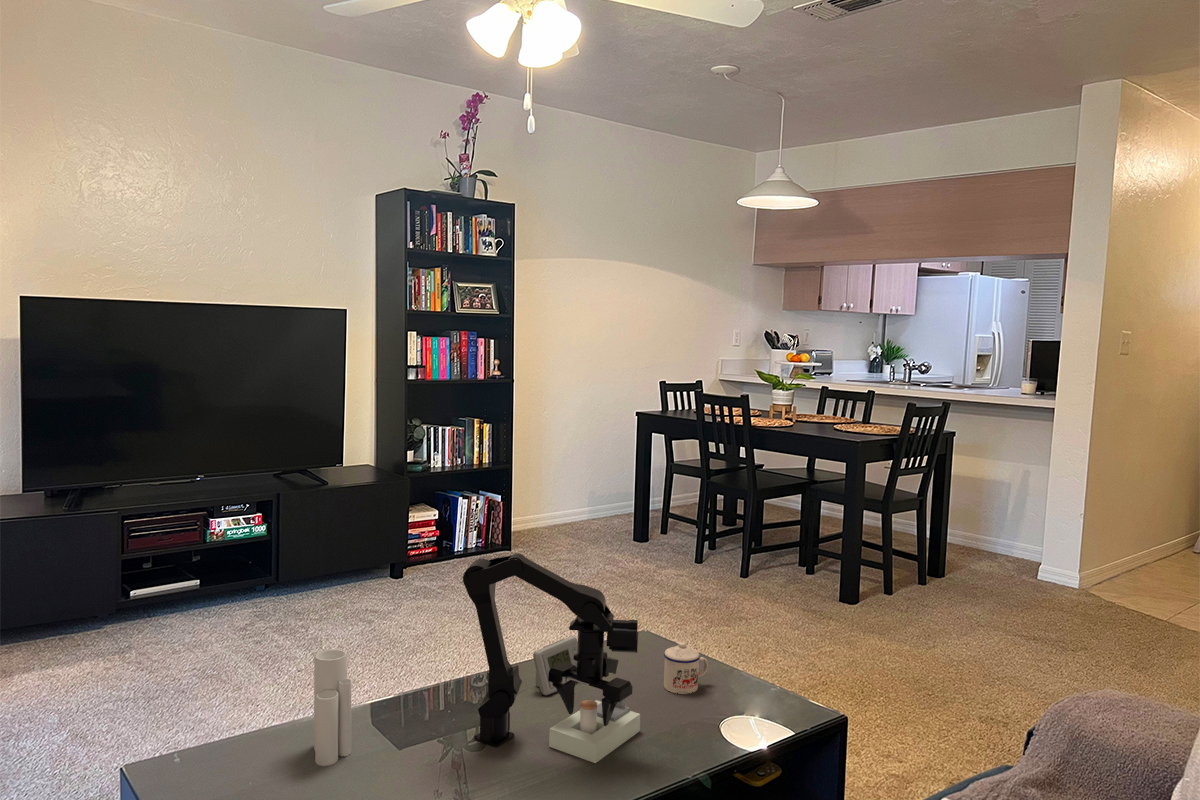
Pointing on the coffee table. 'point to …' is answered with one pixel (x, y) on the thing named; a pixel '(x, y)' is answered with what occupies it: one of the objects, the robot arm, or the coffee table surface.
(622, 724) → the socket block
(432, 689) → the coffee table surface
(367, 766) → the coffee table surface
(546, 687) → the digital clock
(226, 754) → the coffee table surface
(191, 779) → the coffee table surface
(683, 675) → the teacup with lid
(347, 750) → the vase
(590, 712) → the plug
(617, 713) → the shutter
